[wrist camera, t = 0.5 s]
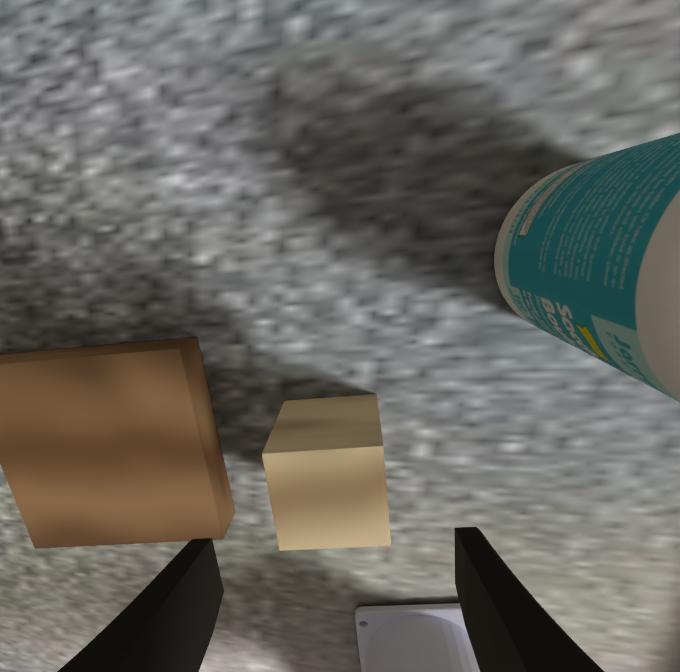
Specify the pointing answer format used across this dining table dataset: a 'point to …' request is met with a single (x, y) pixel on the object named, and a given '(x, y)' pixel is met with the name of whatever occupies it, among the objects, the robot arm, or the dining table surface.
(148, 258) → the dining table surface
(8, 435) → the walnut stand
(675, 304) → the pill bottle
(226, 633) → the dining table surface
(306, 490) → the maple cube
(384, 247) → the dining table surface
